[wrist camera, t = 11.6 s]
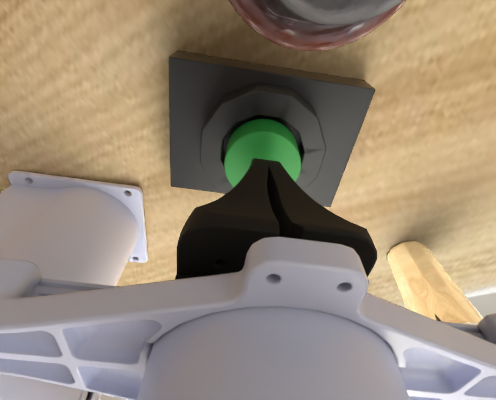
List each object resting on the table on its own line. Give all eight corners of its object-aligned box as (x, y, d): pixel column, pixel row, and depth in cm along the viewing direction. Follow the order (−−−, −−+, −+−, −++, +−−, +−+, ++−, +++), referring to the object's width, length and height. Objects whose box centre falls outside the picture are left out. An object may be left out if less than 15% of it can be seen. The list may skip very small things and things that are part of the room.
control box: (176, 172, 21) (164, 200, 18) (176, 50, 16) (160, 63, 14) (325, 191, 22) (335, 222, 19) (365, 80, 17) (386, 98, 14)
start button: (223, 177, 18) (220, 194, 16) (230, 113, 15) (228, 125, 14) (288, 186, 18) (291, 203, 16) (305, 124, 16) (310, 137, 14)
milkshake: (360, 258, 26) (408, 381, 18) (418, 225, 23) (504, 350, 15) (387, 282, 28) (442, 404, 19) (443, 254, 25) (532, 379, 17)
